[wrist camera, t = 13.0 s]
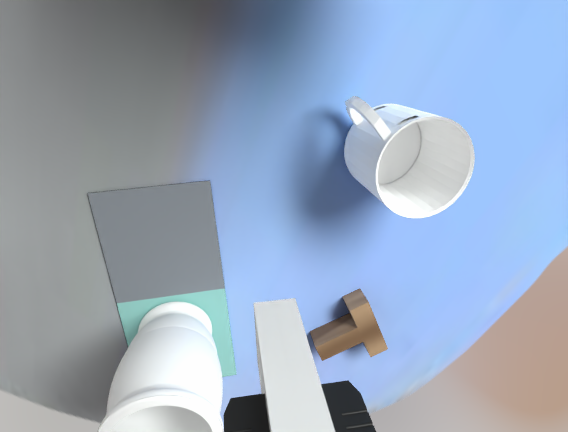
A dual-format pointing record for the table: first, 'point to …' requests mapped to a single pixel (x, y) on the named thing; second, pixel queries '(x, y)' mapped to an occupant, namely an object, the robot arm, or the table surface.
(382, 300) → the table surface
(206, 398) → the jar
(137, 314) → the mat
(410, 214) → the mug
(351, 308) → the t block
